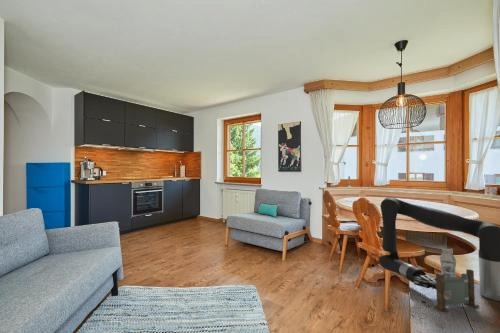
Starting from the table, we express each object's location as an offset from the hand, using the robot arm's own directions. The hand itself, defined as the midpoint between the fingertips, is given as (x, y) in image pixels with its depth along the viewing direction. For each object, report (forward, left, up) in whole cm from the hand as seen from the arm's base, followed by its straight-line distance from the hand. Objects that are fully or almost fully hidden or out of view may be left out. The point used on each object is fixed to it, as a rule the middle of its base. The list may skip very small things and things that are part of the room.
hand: (443, 289), depth 108 cm
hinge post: (-12, +2, -7) cm, 14 cm away
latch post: (+4, +2, -7) cm, 8 cm away
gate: (-4, +1, -5) cm, 7 cm away
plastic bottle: (-17, -12, -7) cm, 22 cm away
